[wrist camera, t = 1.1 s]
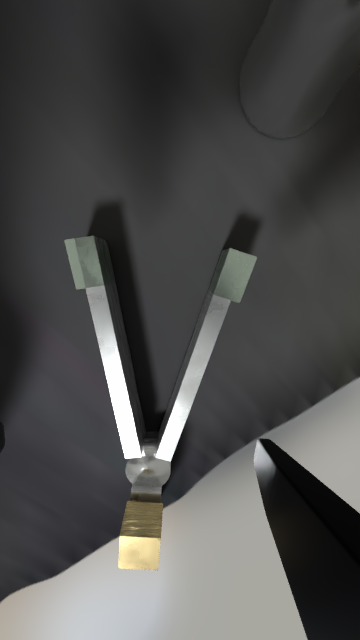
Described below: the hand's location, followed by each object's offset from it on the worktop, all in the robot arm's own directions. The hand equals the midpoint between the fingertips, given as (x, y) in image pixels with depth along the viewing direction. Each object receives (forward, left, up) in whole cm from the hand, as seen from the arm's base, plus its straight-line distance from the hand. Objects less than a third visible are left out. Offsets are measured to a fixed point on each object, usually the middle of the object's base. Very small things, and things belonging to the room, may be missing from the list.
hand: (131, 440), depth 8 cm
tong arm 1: (-3, 0, -10) cm, 11 cm away
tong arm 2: (+3, 0, -10) cm, 11 cm away
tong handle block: (0, -12, -11) cm, 16 cm away
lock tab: (0, -13, -7) cm, 15 cm away
